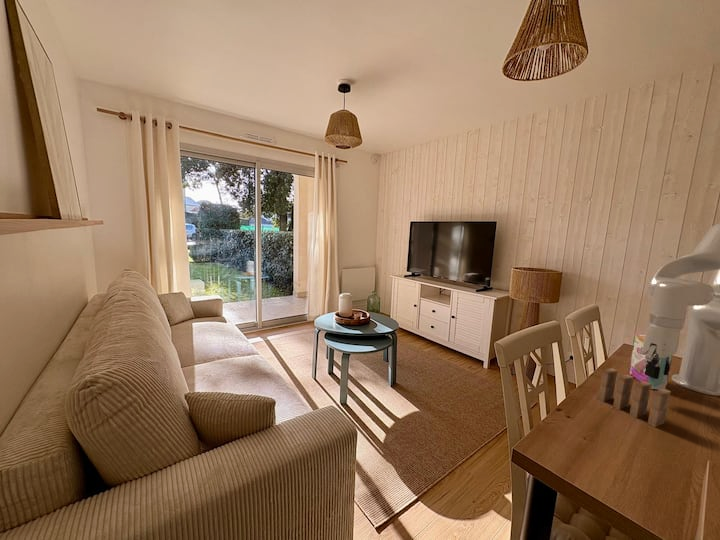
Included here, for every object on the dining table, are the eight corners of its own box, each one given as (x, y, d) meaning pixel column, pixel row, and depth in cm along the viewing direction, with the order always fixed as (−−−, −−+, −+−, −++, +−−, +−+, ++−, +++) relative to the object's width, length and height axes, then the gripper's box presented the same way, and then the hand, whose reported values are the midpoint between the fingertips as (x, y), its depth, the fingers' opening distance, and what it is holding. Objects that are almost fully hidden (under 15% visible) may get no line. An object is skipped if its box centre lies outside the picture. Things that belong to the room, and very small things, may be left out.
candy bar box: (627, 373, 111) (634, 333, 109) (642, 375, 110) (650, 334, 108) (649, 389, 100) (658, 345, 98) (666, 391, 99) (675, 347, 97)
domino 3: (638, 411, 88) (644, 380, 86) (645, 414, 87) (651, 383, 85) (629, 414, 86) (635, 383, 85) (636, 418, 85) (642, 386, 83)
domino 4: (656, 419, 84) (663, 388, 83) (664, 423, 83) (670, 391, 81) (647, 423, 82) (653, 391, 81) (654, 427, 81) (661, 394, 79)
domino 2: (622, 403, 92) (627, 374, 90) (628, 406, 90) (633, 376, 89) (612, 406, 90) (618, 376, 88) (619, 409, 89) (624, 379, 87)
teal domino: (655, 381, 95) (660, 353, 93) (662, 384, 93) (667, 355, 92) (647, 384, 93) (652, 355, 91) (653, 387, 91) (658, 358, 90)
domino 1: (606, 395, 96) (611, 368, 94) (612, 398, 94) (617, 370, 93) (597, 398, 94) (602, 370, 92) (603, 401, 92) (608, 372, 91)
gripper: (664, 314, 96) (655, 364, 99) (635, 321, 90) (626, 374, 93) (696, 321, 89) (686, 375, 92) (668, 329, 83) (657, 386, 86)
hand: (656, 374), depth 92 cm, fingers closed on teal domino, 4 cm apart
